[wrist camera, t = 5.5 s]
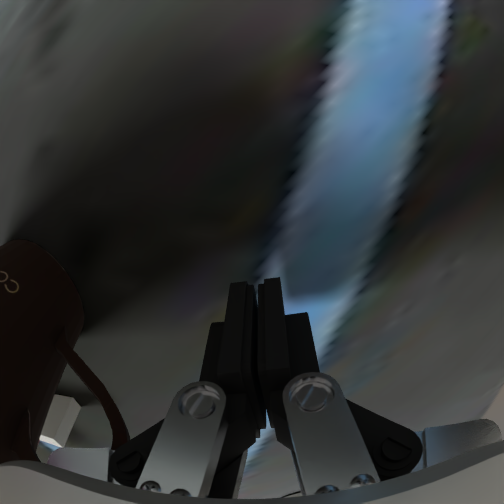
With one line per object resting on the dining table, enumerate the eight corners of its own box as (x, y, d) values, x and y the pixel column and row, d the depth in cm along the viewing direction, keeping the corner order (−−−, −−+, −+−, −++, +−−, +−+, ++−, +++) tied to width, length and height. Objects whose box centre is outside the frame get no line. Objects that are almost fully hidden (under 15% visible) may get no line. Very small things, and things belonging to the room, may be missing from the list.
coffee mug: (-9, 308, 13) (-87, 410, 4) (-12, 190, 10) (-155, 294, 1) (137, 396, 15) (95, 540, 6) (183, 301, 12) (110, 549, 3)
